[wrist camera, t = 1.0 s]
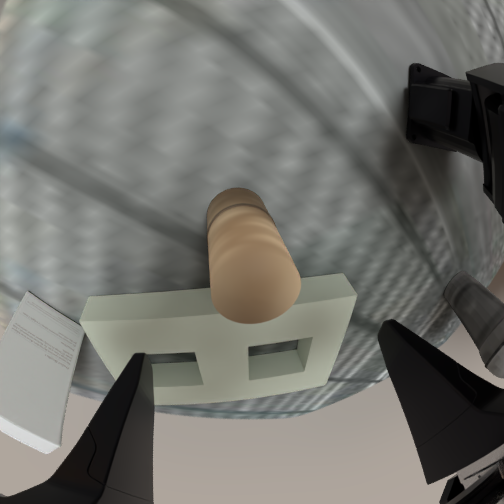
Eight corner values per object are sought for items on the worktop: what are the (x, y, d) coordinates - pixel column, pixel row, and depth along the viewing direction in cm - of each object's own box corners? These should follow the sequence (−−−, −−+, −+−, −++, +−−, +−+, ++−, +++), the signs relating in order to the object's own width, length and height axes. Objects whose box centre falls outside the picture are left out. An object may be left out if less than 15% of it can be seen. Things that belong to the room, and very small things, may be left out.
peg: (266, 185, 18) (306, 248, 11) (265, 239, 20) (297, 318, 13) (204, 189, 17) (205, 257, 11) (208, 244, 19) (214, 328, 13)
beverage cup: (437, 280, 27) (532, 408, 10) (475, 252, 26) (570, 360, 9) (435, 314, 31) (507, 425, 14) (470, 288, 30) (545, 386, 13)
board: (342, 272, 23) (357, 294, 21) (318, 364, 31) (325, 384, 28) (88, 296, 20) (79, 321, 18) (135, 383, 28) (133, 404, 25)
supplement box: (16, 325, 21) (-20, 419, 10) (27, 287, 19) (-26, 400, 8) (68, 358, 24) (47, 456, 14) (89, 328, 22) (61, 449, 12)
